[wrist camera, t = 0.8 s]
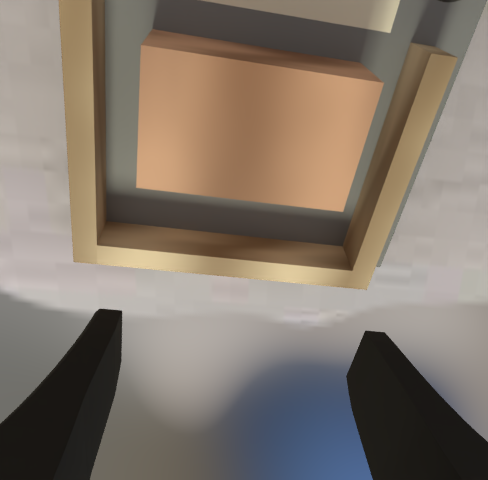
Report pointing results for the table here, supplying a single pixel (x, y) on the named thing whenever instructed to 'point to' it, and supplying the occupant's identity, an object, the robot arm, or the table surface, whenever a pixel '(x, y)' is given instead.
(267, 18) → the floor board
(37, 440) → the robot arm
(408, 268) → the table surface
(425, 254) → the table surface
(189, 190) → the terracotta slab
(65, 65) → the oak cubby
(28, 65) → the table surface
